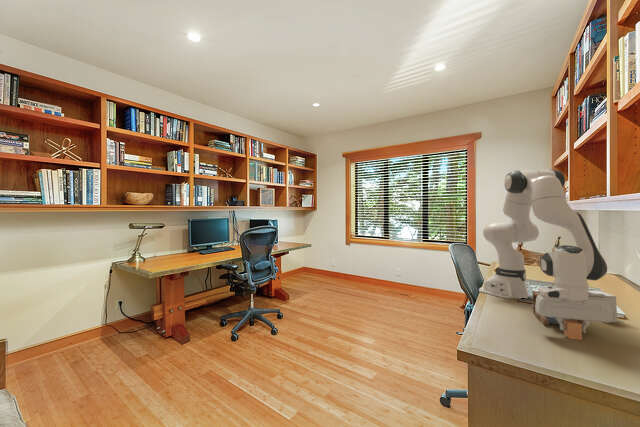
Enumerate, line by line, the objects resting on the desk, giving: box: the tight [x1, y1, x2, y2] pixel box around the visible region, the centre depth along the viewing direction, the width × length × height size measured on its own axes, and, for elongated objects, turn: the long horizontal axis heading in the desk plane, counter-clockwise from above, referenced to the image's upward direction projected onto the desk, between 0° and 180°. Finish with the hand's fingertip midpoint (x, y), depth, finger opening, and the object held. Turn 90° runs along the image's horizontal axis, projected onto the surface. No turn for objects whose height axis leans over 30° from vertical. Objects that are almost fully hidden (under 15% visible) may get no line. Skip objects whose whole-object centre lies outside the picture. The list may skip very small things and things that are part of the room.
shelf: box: [531, 290, 583, 327], centre depth 107 cm, size 14×11×10 cm
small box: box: [589, 290, 618, 323], centre depth 108 cm, size 8×6×10 cm
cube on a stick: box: [546, 317, 583, 341], centre depth 102 cm, size 21×7×6 cm, turn 156°
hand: (572, 331), depth 94 cm, fingers closed on cube on a stick, 4 cm apart
